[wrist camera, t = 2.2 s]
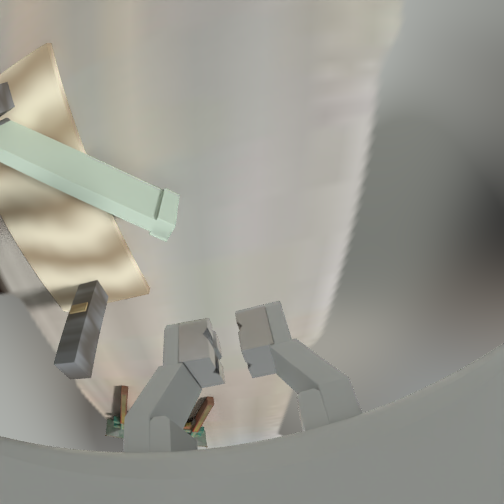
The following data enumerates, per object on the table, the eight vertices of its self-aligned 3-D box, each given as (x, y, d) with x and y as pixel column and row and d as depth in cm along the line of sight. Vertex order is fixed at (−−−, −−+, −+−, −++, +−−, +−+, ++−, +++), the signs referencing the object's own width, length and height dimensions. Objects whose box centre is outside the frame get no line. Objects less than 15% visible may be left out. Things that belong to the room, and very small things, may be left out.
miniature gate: (233, 411, 55) (201, 454, 69) (230, 389, 59) (199, 438, 73) (100, 395, 46) (106, 444, 60) (103, 372, 51) (107, 427, 64)
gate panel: (0, 130, 19) (-32, 149, 15) (4, 114, 19) (-29, 130, 14) (171, 209, 29) (166, 241, 24) (179, 194, 28) (175, 225, 23)
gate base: (-37, 108, 17) (-114, 152, 7) (51, 43, 17) (-38, 51, 7) (66, 307, 36) (43, 384, 26) (149, 288, 36) (140, 378, 26)
